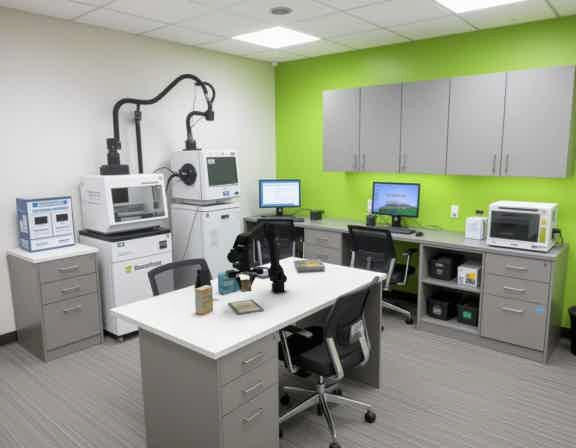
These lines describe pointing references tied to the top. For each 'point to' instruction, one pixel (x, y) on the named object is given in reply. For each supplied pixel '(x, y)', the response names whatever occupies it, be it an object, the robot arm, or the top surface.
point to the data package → (226, 283)
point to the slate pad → (245, 307)
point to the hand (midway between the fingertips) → (245, 288)
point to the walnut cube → (245, 285)
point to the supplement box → (204, 299)
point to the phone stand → (202, 278)
